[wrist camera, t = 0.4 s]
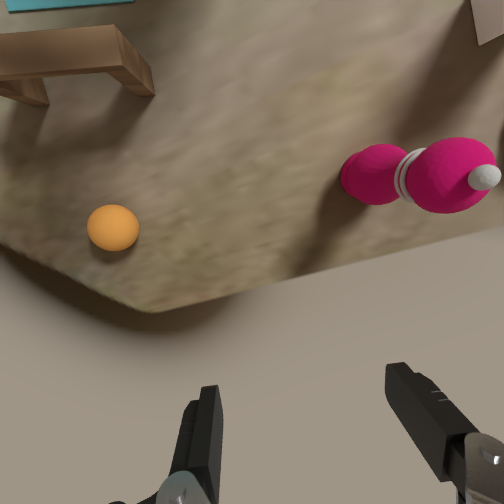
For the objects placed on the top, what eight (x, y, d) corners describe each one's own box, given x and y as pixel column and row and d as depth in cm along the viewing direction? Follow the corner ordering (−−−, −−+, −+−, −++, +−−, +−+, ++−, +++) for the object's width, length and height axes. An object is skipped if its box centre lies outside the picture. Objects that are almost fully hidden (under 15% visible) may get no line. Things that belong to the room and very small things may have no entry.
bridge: (24, 78, 32) (-64, 39, 22) (150, 67, 32) (114, 24, 23) (33, 106, 32) (-49, 79, 23) (155, 95, 33) (122, 64, 24)
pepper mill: (366, 135, 35) (518, 91, 16) (397, 175, 37) (567, 178, 18) (326, 174, 37) (422, 177, 17) (357, 211, 38) (476, 250, 19)
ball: (96, 204, 36) (70, 210, 30) (140, 200, 36) (122, 205, 31) (107, 246, 38) (84, 259, 32) (149, 242, 38) (133, 254, 32)
